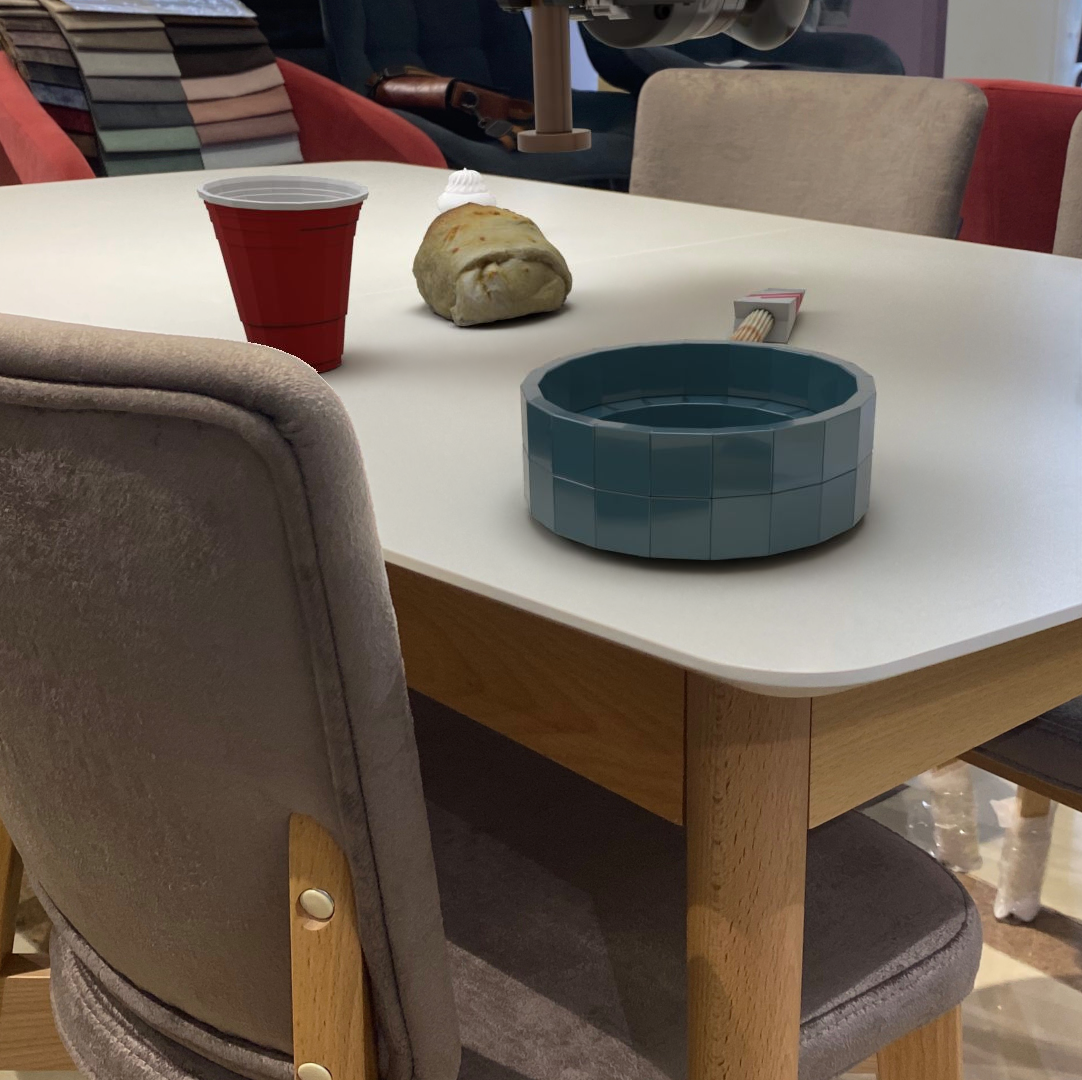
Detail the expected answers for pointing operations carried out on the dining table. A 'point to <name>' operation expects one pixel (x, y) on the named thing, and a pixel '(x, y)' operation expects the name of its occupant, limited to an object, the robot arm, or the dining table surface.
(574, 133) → the stirrer
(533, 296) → the pastry
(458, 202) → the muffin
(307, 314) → the plastic cup
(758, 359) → the bowl
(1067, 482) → the dining table surface
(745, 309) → the box of toothpicks
